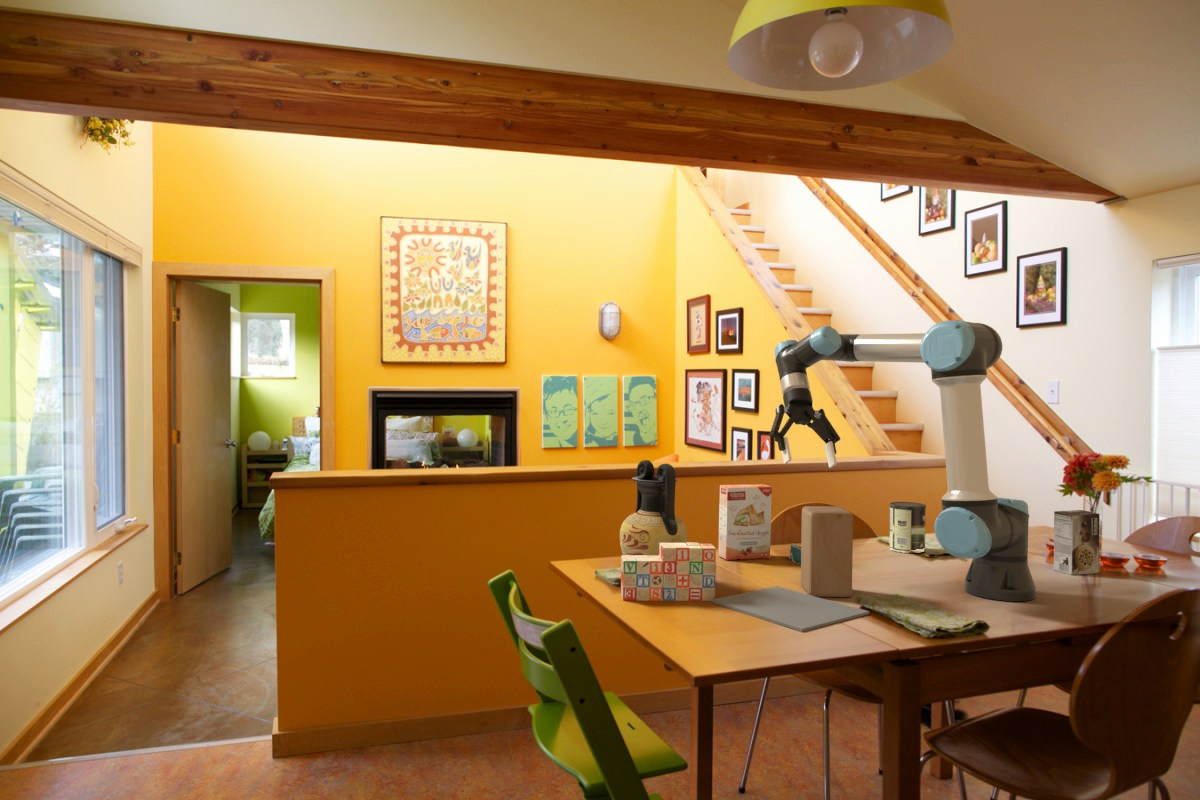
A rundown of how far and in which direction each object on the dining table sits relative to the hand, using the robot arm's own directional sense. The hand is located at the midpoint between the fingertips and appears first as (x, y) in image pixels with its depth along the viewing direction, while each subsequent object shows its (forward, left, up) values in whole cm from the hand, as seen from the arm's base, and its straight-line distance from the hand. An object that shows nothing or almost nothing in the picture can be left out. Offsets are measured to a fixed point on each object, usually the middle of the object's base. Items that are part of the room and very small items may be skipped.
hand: (810, 464), depth 205 cm
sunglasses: (+10, -15, -30) cm, 34 cm away
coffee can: (+4, -49, -29) cm, 58 cm away
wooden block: (-14, +12, -29) cm, 34 cm away
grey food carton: (-38, -62, -29) cm, 79 cm away
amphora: (+18, +39, -29) cm, 51 cm away
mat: (-18, +30, -29) cm, 45 cm away
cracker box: (+24, 0, -29) cm, 37 cm away
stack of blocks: (+4, +46, -29) cm, 54 cm away
